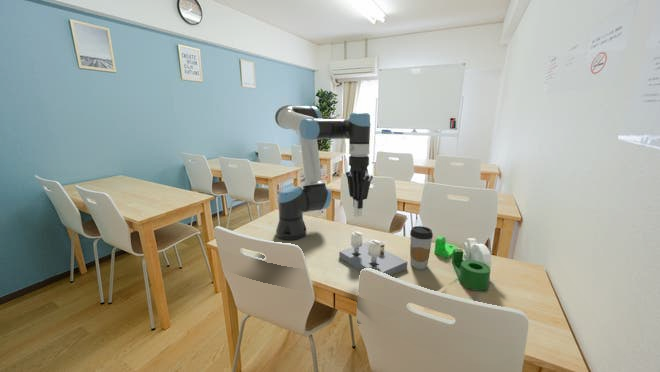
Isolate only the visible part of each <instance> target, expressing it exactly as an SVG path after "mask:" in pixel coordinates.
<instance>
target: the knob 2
mask: <svg viewBox="0 0 660 372" xmlns="http://www.w3.org/2000/svg"><path fill="white" fill-rule="evenodd" d="M368 242H369V249H368V255H369V256H371V262H373V263H376V262H377V257H379V256H380V250H381V243H382V242H381V241H380V240H376V239H371V240H368Z"/></svg>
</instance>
